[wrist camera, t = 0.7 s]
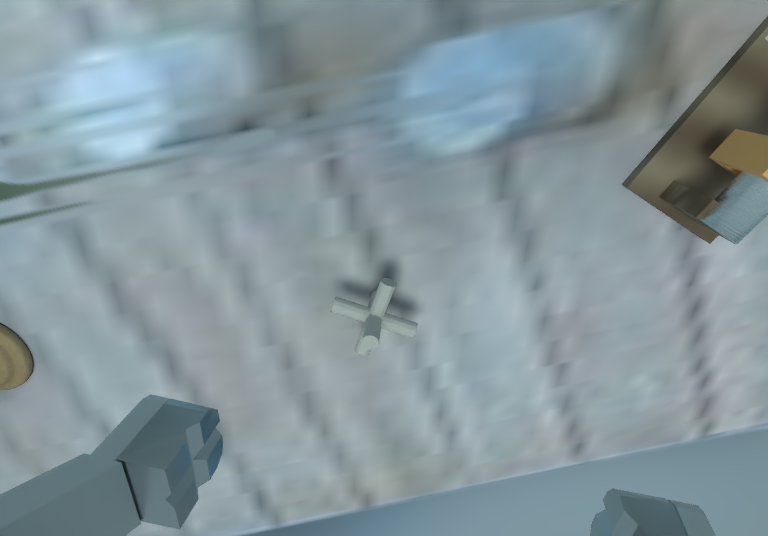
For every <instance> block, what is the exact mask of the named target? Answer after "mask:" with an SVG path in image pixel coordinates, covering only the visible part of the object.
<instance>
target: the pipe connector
mask: <svg viewBox="0 0 768 536" xmlns="http://www.w3.org/2000/svg"><path fill="white" fill-rule="evenodd" d="M395 287H396V283H395V282H394V281H393V280H391V279H389V278H382V279H381V281H380V283H379V286H378V289H377V290H375V291H373V292H372V293H371V296H370V301H369V307H366V306H363V305H360V304H357V303H354V302H351V301H348V300H345V299H342V298H339V297H335V300H334V303H333V306H332V309H331V312H333V313H336V314H340V315H343V316H346V317H349V318H352V319H355V320H358V321H361V322H364V325H363V328H362V331H361V333H360V336H359V339H358V341H357V344H356V347H355V352H356V353H357V354H359V355H361V356H367V355H368V354H369V352H370V350H372V349H375V348H377V347H378V345H379V338H380V330H381V328H383V329H386V330H389V331H392V332H395V333H398V334H402V335H405V336H408V337H411V338H413V337H414V335H415V333H416V330H417V323H415V322H412V321H409V320H406V319H403V318H400V317H397V316H394V315H391V314H388V313H385V312H386V309H387V307H388V304H389V302H390V299H391V297H392V294H393V292H394V289H395Z"/></svg>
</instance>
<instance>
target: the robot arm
mask: <svg viewBox="0 0 768 536" xmlns="http://www.w3.org/2000/svg"><path fill="white" fill-rule="evenodd" d="M219 421H220V419H219V414H218V410H217V409H213V408H209V407H204V406H200V405H196V404H192V403H187V402H183V401H179V400H174V399H170V398H165V397H160V396H156V395H149V396H147V397H145V398H143V399H142V400H141V401H140V402H139V403H138V404H137V406H136V407H135V408H134V409H133V410H132V411H131V412H130V413H129V414H128V415H127V416H126V417H125V418H124V419H123V421H122V422H121V423H120V424H119V425H118V426H117V427H116V428H115V429H114V430H113V431H112V432H111V433H110V434H109V436H108V437H107V438H106V439H105V440H104V441H103V442H102V443H101V444H100V445H99V446H98V447H97V448H96V449H95V450H94V452H93V453H92V454H91V455H89V454H82V455H80V456H78V457H76V458H74V459H72V460H70V461H68V462H66V463H64V464H62V465H60V466H57V467H55V468H53V469H51V470H49V471H47V472H45V473H43V474H41V475H39V476H37V477H35V478H33V479H31V480H29V481H27V482H25V483H23V484H21V485H19V486H17V487H15V488H13V489H11V490H9V491H7V492H5V493H3V494H1V495H0V536H125V535H127V534H128V533H129V532H131V531H132V530H133V529H135V528H136V527H137V526H139V525H140V524H141V522H140V521H143V522H148V523H152V524H157V525H162V526H167V527H172V528H176V529H180V528H181V527H182V525H183V524H184V522H185V520H186V519H187V517H188V515H189V514H190V512H191V510H192V509H193V507H194V505H195V504H196V502H197V501H198V487H199V486H201V485H202V484H204V483H206V482H207V481H209V480H210V479H211V477H212V475H213V474H214V472H215V470H216V469H217V466H218V464H219V461H220V458H221V455H222V449H223V438H222V435H221V433H220V432H219V431H218V430H217V429H216V428H215V427H216V426H217V424H218V423H219ZM603 501H604V505H605V509H606V510H604V511H601V512H599V513H597V514H596V515H595V518H594V520H593V522H592V525H591V534H590V536H716V535H715V533H714V531H713V529H712V527H711V525H710V523H709V521H708V519H707V517H706V515H705V513H704V512H703V510H702V509H700V507H699V506H697V505H692V504H687V503H682V502H677V501H672V500H666V499H665V498H660V497H655V496H649V495H644V494H639V493H634V492H628V491H623V490H618V489H611V490H609V491H608V492H607V493H606V495H605V497H604V499H603Z"/></svg>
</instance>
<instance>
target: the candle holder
mask: <svg viewBox="0 0 768 536" xmlns="http://www.w3.org/2000/svg"><path fill="white" fill-rule="evenodd" d="M32 370H33V360H32V356H31V354H30V352H29V350H28V348H27V346H26V345H25V344H24V342H23V341H22V340H21V339H20V338H19V337H18V336H17V335H16V334H15V333H14V332H12V331H11V330H10V329H8V328H7V327H5V326H3V325H1V324H0V390H7V389H12V388H16V387H18V386H20V385H22V384H23V383H24V382H25V381H26V380H27V379H28V378H29V377H30V375H31V373H32Z"/></svg>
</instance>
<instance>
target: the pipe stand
mask: <svg viewBox="0 0 768 536" xmlns="http://www.w3.org/2000/svg"><path fill="white" fill-rule="evenodd" d="M735 129H738V130H743V131H748V132H753V133H757V134H762V135H767V136H768V17H767V18H766V19H765V20H764V22H763V23H762V24H761V25H760V26H759V27H758V29H757V30H756V31H755V32H754V33H753V34H752V35H751V37H750V38H749V39H748V40H747V41H746V42H745V44H744V45H743V46H742V47H741V48H740V49H739V50H738V52H737V53H736V54H735V55H734V56H733V57H732V58H731V60H730V61H729V62H728V63H727V64H726V65H725V67H724V68H723V69H722V70H721V71H720V72H719V73H718V75H717V76H716V77H715V78H714V79H713V80H712V82H711V83H710V84H709V85H708V86H707V87H706V88H705V90H704V91H703V92H702V93H701V94H700V95H699V96H698V98H697V99H696V100H695V101H694V102H693V103H692V105H691V106H690V107H689V108H688V109H687V110H686V111H685V113H684V114H683V115H682V116H681V117H680V118H679V120H678V121H677V122H676V123H675V124H674V125H673V126H672V128H671V129H670V130H669V131H668V132H667V133H666V134H665V136H664V137H663V138H662V139H661V140H660V141H659V143H658V144H657V145H656V146H655V147H654V148H653V149H652V151H651V152H650V153H649V154H648V155H647V156H646V158H645V159H644V160H643V161H642V162H641V163H640V164H639V166H638V167H637V168H636V169H635V170H634V171H633V172H632V174H631V175H630V176H629V177H628V178H627V179H626V181H625V182H624V183H623V184H622V185H623V186H625V187H626V188H628V189H629V190H631V191H632V192H634V193H635V194H637V195H638V196H640V197H641V198H643V199H644V200H646V201H647V202H648V203H650V204H651V205H653V206H654V207H656V208H657V209H659V210H660V211H662V212H663V213H665V214H666V215H668V216H669V217H671V218H672V219H674V220H675V221H677V222H678V223H680V224H681V225H682V226H684V227H685V228H687V229H688V230H690V231H691V232H693V233H694V234H696V235H697V236H699V237H700V238H702V239H703V240H705V241H706V242H708V243H711V242H712V241H713V240H714V239H715V238H716V237H717V236H718V235H720V236H721V234H720V233H719V234H718V232H717V231H715V230H714V229H713V230H714V231H713V230H712V228H711V227H710V228H711V229H710V228H709V226H708V225H706V224H705V223H704V222H702V221H701V219H702V218H703V217H704V216H705V215H706V214H707V213H708V212H709V211H710V210H711V209H712V208H713V207H714V206H715V205H716V204H717V203H718V202H717V201H715V200H714V199H715V198H716V197H717V196H718V195H719V194H720V193H721V192H722V191H723V190H724V189H725V188H726V187H727V186H728V185H729V184H730V183H731V182H732V181H733V180H734V179H735V178H736V176H734V175H733V174H732V173H730V172H729V171H727V170H726V169H725V168H723V167H722V166H721V165H719V164H718V163H716V162H715V161H714V160H712V159H711V158H709V157H710V156H711V154H712V153H713V152H714V151H715V150H716V149H717V148H718V147H719V146H720V145H721V144H722V143H723V142H724V141H725V139H726V138H727V137H728V136H729V135H730V134H731V133H732V132H733V131H734V130H735ZM707 226H708V227H707ZM722 237H723V235H722ZM724 238H725V237H724ZM725 239H726V238H725ZM727 240H728V239H727ZM729 241H730V240H729ZM730 242H731V241H730ZM732 243H733V242H732ZM734 244H735V243H734Z"/></svg>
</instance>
